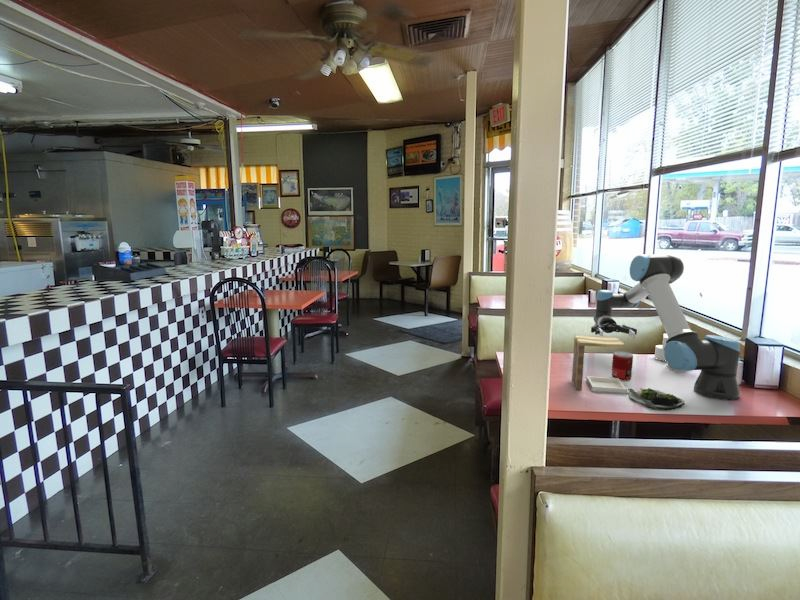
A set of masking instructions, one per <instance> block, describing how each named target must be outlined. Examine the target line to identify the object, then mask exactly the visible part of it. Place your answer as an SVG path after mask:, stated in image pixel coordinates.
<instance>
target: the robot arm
mask: <svg viewBox="0 0 800 600" xmlns="http://www.w3.org/2000/svg"><path fill="white" fill-rule="evenodd" d="M684 267H685V266H684V263H683V261H682V259H681V258H680V257H678V256H677V255H676V254H671V253H662V254H661V253H657V254H656V253H655V254H649V253H645V254H638V255H636V256H635V257H633V259H632V260H631V261H630V265H629V275H630V276H629V277H630V278H631V280H633V281H635V282H638V283H637V284H635V285H634V286H633V287H631V288H629V290H627V291H626V292H624V293H614V292H613V291H612V290H609V289H600V290H598V291H597V294H596V298H595V299H596V302H595V303H596V304H595V306H596V307H595V313H594V315H593V322H594V325H592V326H591V327H590V332H591V333H594V334H595V336H596V335H599V336H600V337H604V333H606V334H611V333H614V332H615V333H622V334H627V335H628V336H630V338H632V339H634V340H635V338H636V335H637V333H638V329H637V328H634V327H631V326H627V325H625V324H622V325H619V324H618V323H617V322H616V320H615V319H613V317H612V311H613V310H612V309H632V308H637V307H639V306H640V304H641V301H642V300H644V299H645V298H647V297H648V296H649V297H650V299H651V301H652V303H653V305H654V308H655V311H656V313H657V315H658V318H659V320H660V322H661V324H662V327H663V328H664V331H665V334H667V336H668V338H667V340H666V345H665V347H664V351H665V352H664V356H665V359H666V361H665V362H667V365H668V364H669V365H670V366H671V367H673V368H674V369H677V370H685V372H691V371H700V373H699V375H698V377H697V378H696V381H695V382H694V385H693V390H694V391H695V392H696V393H698V394H699V395H702V396H704V397H708V398H711V397H712V398H713V399H716V398H718V399H717V400H723V399H734V400H737V399H736V398H738V397H739V398H740V393H741V390H740V386H739V383H738V380H737V373H738V367H739V366H738V365H739V360H740V354H741V349H740V348H741V344H740V342H739V341H738V340H736V339H733V338H730V337H726V336H721V335H713V334H706V335H705V336H704V338H703V339H701V338H700V336H699V334H698V332H696V331H695V330H692V329H691V327H690V325H689V323H688V320H687V319H686V316H685V314H684V313H683V310H682V308H681V306H680V304H679V302H678V300H677V297H676V294H675V293H674V291H673V289H672V286H671V285H670V284H673V283H674V282H676V281H677V280H679V279H680V278H681V277H682V275H683V274H684V270H685V268H684ZM712 398H711V399H712ZM739 398H738V399H739Z"/></svg>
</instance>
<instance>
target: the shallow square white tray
mask: <svg viewBox="0 0 800 600" xmlns="http://www.w3.org/2000/svg"><path fill="white" fill-rule="evenodd" d="M585 377H586V378H585V381H586V383H587V385H588V386H589V389H590V390H591V392H597V393H608V394H609V393H611V394H615V393H616V394H625V395H626V394H628V393H627V392H628V388H627V387H626V386H625V385H624V384H623V383H622V380H620V379H619V378H613V377H609V376H608V377H606V376H605V377H604V376H592V375H591V376H590V375H589V376H588V375H587V376H585Z"/></svg>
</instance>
